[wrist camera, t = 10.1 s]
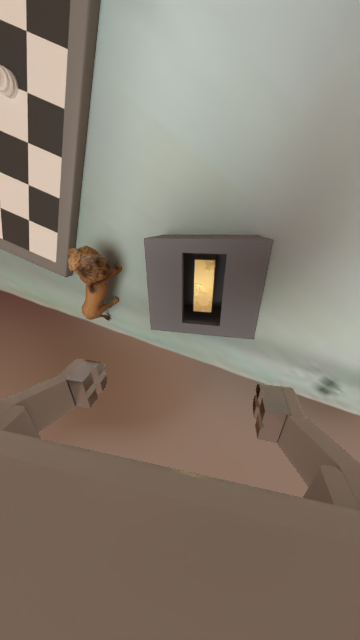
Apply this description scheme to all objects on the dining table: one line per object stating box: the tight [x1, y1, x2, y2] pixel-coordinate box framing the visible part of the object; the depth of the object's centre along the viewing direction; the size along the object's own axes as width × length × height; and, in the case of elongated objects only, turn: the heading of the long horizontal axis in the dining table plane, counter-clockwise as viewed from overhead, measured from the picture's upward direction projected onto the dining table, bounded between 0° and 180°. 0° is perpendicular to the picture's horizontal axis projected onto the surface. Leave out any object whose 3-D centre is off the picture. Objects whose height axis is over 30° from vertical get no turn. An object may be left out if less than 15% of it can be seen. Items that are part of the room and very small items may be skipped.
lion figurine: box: [67, 246, 122, 320], centre depth 32 cm, size 15×5×9 cm, turn 172°
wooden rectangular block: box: [193, 253, 216, 312], centre depth 28 cm, size 7×2×6 cm, turn 0°
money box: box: [144, 235, 273, 339], centre depth 28 cm, size 12×14×9 cm
